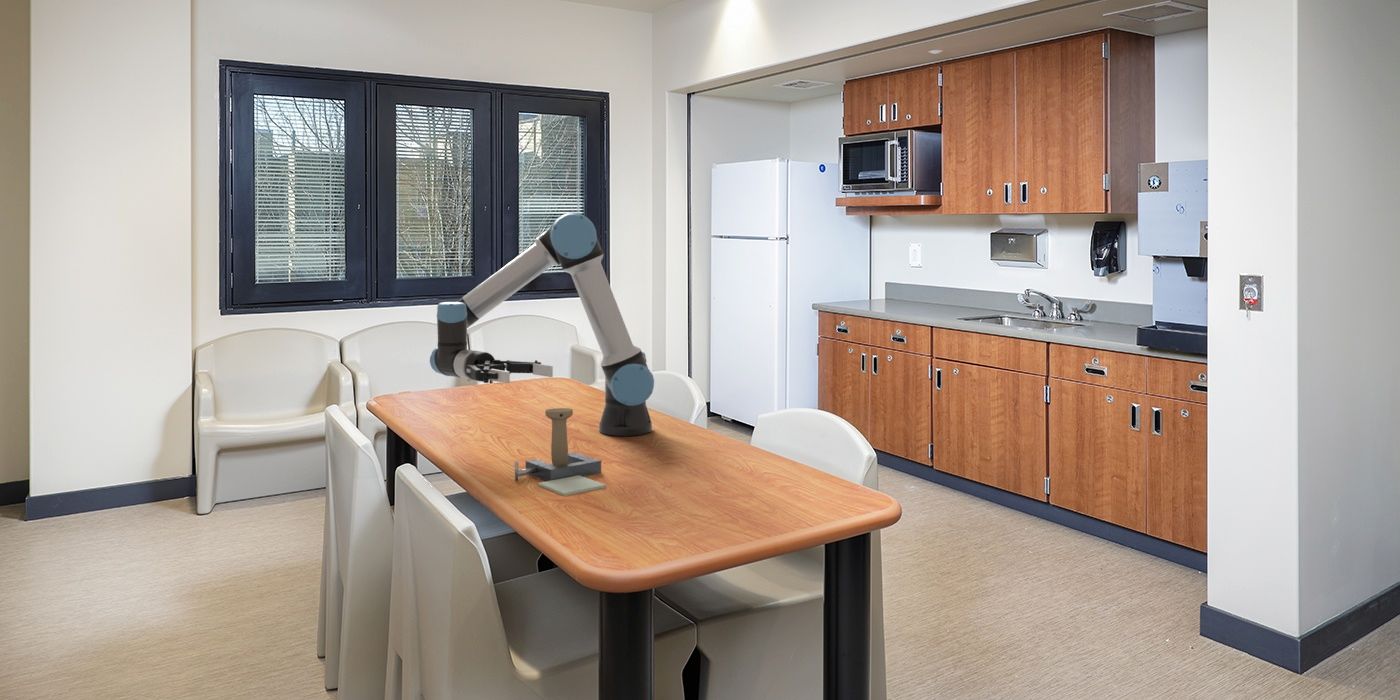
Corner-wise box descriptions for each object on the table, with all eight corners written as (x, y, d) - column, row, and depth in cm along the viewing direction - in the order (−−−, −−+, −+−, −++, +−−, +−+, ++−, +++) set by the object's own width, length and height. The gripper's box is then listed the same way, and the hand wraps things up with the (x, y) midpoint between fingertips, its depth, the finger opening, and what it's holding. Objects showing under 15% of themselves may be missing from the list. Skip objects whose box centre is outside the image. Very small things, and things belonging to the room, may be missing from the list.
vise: (575, 464, 238) (575, 446, 238) (601, 472, 230) (601, 454, 229) (505, 476, 226) (505, 458, 225) (530, 486, 217) (529, 467, 217)
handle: (575, 473, 230) (574, 411, 228) (548, 475, 227) (547, 412, 226) (570, 468, 234) (570, 407, 232) (544, 470, 232) (543, 409, 230)
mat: (579, 477, 225) (578, 475, 225) (606, 487, 217) (606, 484, 217) (538, 485, 218) (538, 482, 218) (564, 495, 210) (564, 493, 210)
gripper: (513, 374, 257) (568, 383, 244) (434, 385, 238) (489, 395, 225) (513, 347, 256) (568, 354, 243) (434, 355, 237) (489, 364, 224)
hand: (530, 374), depth 234 cm, fingers open, 13 cm apart
